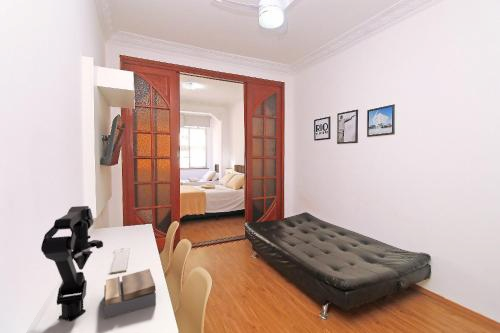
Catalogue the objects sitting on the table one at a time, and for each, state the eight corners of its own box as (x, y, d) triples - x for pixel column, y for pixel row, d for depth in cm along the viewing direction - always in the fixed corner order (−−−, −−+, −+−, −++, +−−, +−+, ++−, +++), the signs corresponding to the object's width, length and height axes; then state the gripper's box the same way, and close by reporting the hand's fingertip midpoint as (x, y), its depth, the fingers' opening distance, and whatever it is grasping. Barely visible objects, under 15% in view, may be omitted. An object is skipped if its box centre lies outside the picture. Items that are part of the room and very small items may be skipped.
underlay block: (104, 319, 96) (104, 306, 96) (104, 295, 112) (104, 285, 111) (155, 304, 105) (155, 293, 105) (149, 285, 121) (149, 275, 121)
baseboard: (105, 275, 131) (126, 272, 134) (105, 270, 130) (126, 267, 134) (112, 254, 158) (129, 251, 162) (112, 249, 158) (129, 247, 162)
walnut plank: (124, 300, 100) (123, 294, 99) (122, 281, 114) (121, 276, 114) (155, 290, 106) (155, 285, 105) (149, 273, 120) (149, 268, 120)
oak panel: (105, 305, 96) (105, 298, 96) (105, 285, 111) (105, 279, 111) (121, 301, 99) (121, 295, 99) (119, 282, 114) (119, 276, 114)
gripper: (85, 226, 119) (85, 258, 120) (43, 239, 101) (45, 276, 102) (103, 229, 116) (104, 261, 117) (64, 242, 98) (65, 280, 99)
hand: (81, 269), depth 109 cm, fingers closed
